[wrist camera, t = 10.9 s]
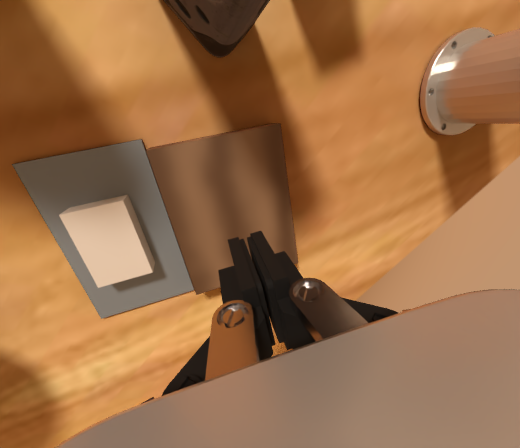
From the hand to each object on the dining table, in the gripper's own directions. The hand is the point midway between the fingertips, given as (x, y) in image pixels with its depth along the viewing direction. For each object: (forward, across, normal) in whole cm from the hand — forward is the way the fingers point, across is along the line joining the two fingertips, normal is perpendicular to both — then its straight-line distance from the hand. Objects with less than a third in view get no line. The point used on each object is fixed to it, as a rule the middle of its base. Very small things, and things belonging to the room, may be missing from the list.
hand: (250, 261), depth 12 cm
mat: (+20, +13, +4) cm, 24 cm away
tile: (+18, +13, +4) cm, 23 cm away
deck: (+20, -1, +4) cm, 21 cm away
